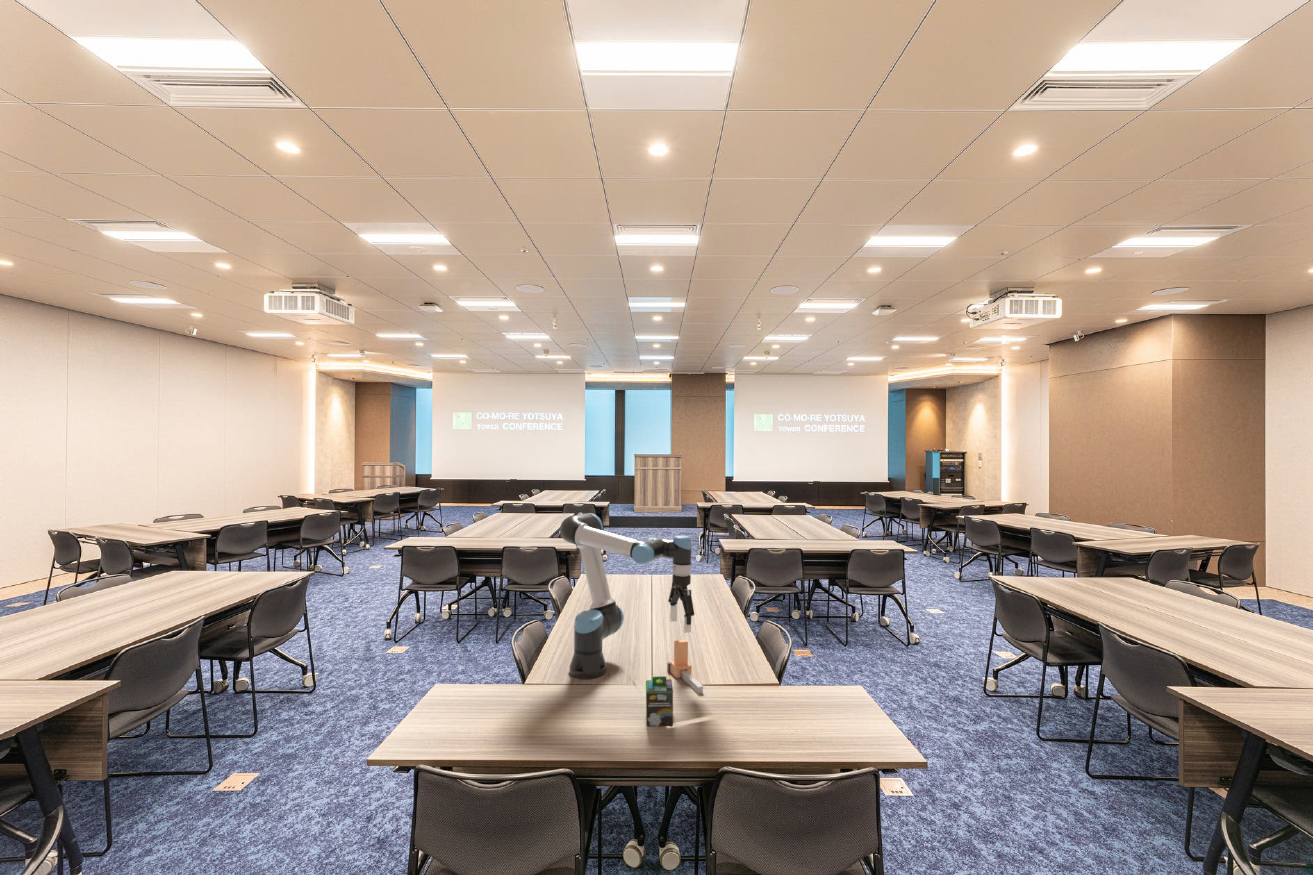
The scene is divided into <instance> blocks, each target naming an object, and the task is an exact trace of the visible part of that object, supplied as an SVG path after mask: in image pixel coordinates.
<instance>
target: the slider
mask: <svg viewBox="0 0 1313 875" xmlns="http://www.w3.org/2000/svg"><path fill="white" fill-rule="evenodd" d="M673 644H674V645H673V658H674V659H673V661H670V662H671V663H670V672H669V673H671V674H672V676H674V677H675V678H676V679H682V677H681V670H686V671H687V672H688V673H689V674H690V675H691V676H692V664H690V662H689V661H688V660H689V655H688V654H689V651H688V650H689V642H688V640H687V639H679V640H674V641H673Z"/></svg>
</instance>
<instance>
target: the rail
mask: <svg viewBox="0 0 1313 875" xmlns="http://www.w3.org/2000/svg"><path fill="white" fill-rule="evenodd" d="M671 662H672V661H669V662H667V665H666V666H667V668H666V671H667V672H668V673H671V672H670V663H671ZM681 679H682V680H683V681H685V682H686V684H688V686H690V687H691V689H693V691H695V692H696V693H697V694H698V695H699V694H703V693H704V686H703V685H702V684H701V683H700V682H699V681H698V680H697V679H696V678H695V677H694V676H693V675H692V674H691V675H690V674H689V673H688V672H687V671H686V670H681Z"/></svg>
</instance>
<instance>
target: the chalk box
mask: <svg viewBox="0 0 1313 875" xmlns="http://www.w3.org/2000/svg"><path fill="white" fill-rule="evenodd" d="M645 704H646V705H645V710H646V711H645V721H646V722H645V724H646V725H645V726H646V727H673V726H674V689H673V682H672V679H671V678H670V679H669V678H668V679H667V677H666V676H653V677H652V679H646V680H645Z"/></svg>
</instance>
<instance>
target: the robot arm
mask: <svg viewBox="0 0 1313 875" xmlns="http://www.w3.org/2000/svg"><path fill="white" fill-rule="evenodd" d="M603 528H604V526H603V522H602V520H601V518H600V517H599V516H597V515H596V514H595V513H591V512H589V513H588V512H587V513H586V512H585V513H581V514H575V515H570V516H567V517H565V518H564V519H563V521H562V522H561V524H560V527H559V533H560V536H561V537H562V539H563V540H564V541H565V542H567V543H569V544H572V545H575V547H576V548H578V549H579V550H580V554H581V559H582V562H583V568H584V571H585V578H586V581H587V586H588V590H589V595H590V600H591V604H590V606H589V609H587V610H583V611H581V612H579V613H578V614H577V615H576V616H575V617H574V625H573V629H574V633H573V634H574V635H573V636H574V637H573V638H574V639H573V641H574V642H573V650H574V651H573V655H572V658H571V660H570V663H569V672H568V673H569V674H570V676H572V677H574V678H577V679H582V680H583V679H584V680H586V679H587V680H589V679H596V678H598V677H601V676H602V675H605V673H606V672H607V663H606V662H607V661H606V659H605V656H604V653H603V640H605V639H606V638H608V637H609V636H611V635H614V634H615V633H616V632H618V631H619V630H620V629H621V628H622V627H623V624H624V619H625V617H624V612H623V609H622V607H619V605H617V602H616V599H614V598H613V597H612V596H611V592H610V588H609V583H608V579H607V574H606V569H605V566H604V562H603V557H602V552H601V550H602V551H606V552H609V553H612V554H615V555H619V556H623V557H626V558H628V559H629V558H630V559H632V560H633V561H634V562H635V563H637V564H638V565H646V564H649V563H650V562H653V561H656V560H658V559H660V558H666V559H672V566H671V569H672V576H671V577H672V579H671V580H672V583H671V589H670V592H669V596H668V603H669V606H670V615H669V616H670V617H669V618H670V619H669V620H670V621H669V622H671V623H672V622H678V605H679V604H678V602H679V600H680V601H681V602H682V603H681V604H682V606H683V607H682V608H683V610H684V615H683V617H684V618H683V633H684V634H687V633H688V634H689V633H692V617H693V616H694V617H695V610H694V604H693V599H692V598H693V597H692V590H691V589H688V586H690V584H691V582H692V580H691V579H692V576H691V574H692V549H693V547H692V538H691V537H690V536H688V535H683V534H682V535H678V534H677V535H675V536H673V538H672V539H666V538H660V537H649V538H648V539H647V540H646V541H641V540H638V539H634V538H631V537H627V536H624V535H619V534H617V533H613V532H609V531H605V530H603Z"/></svg>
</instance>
